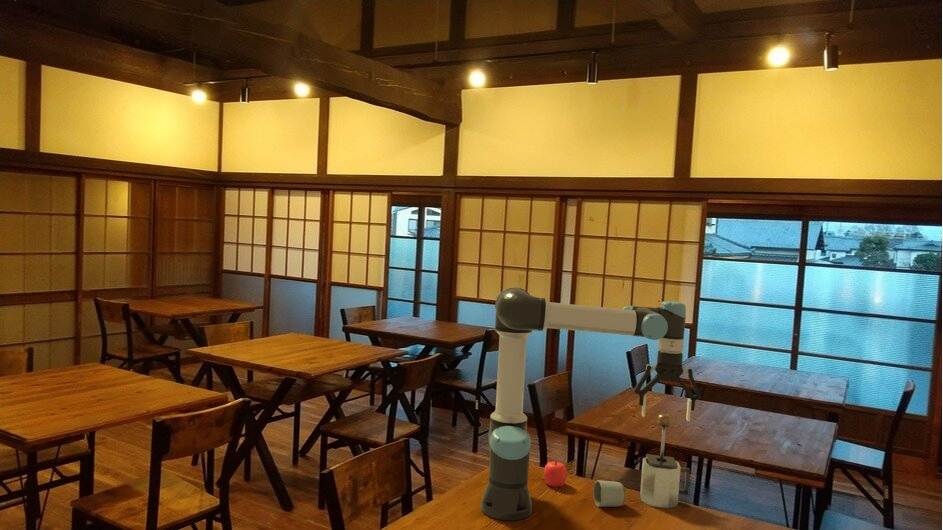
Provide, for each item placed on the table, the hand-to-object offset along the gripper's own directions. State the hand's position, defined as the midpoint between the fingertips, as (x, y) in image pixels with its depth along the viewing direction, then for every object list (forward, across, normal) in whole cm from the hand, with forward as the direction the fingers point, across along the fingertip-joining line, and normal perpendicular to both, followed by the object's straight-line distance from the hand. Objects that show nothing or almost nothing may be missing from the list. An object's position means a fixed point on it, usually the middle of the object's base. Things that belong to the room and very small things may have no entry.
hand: (665, 418), depth 207 cm
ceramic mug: (+27, -17, -7) cm, 33 cm away
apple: (+27, -33, +3) cm, 43 cm away
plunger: (+17, 0, 0) cm, 17 cm away
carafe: (+27, +1, 0) cm, 27 cm away
